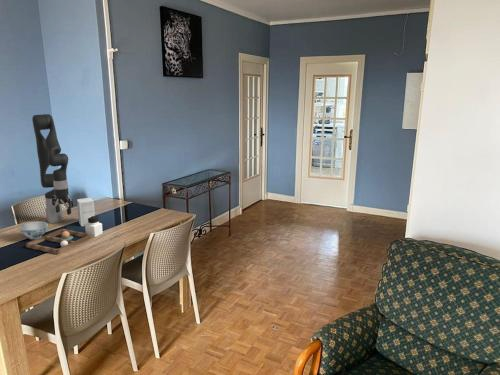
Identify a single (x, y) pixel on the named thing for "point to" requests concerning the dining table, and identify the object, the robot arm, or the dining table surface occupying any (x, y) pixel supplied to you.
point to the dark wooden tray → (58, 241)
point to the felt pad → (67, 238)
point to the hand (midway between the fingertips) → (63, 213)
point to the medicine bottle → (94, 226)
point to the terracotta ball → (65, 234)
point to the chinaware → (34, 229)
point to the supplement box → (85, 210)
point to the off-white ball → (63, 243)
